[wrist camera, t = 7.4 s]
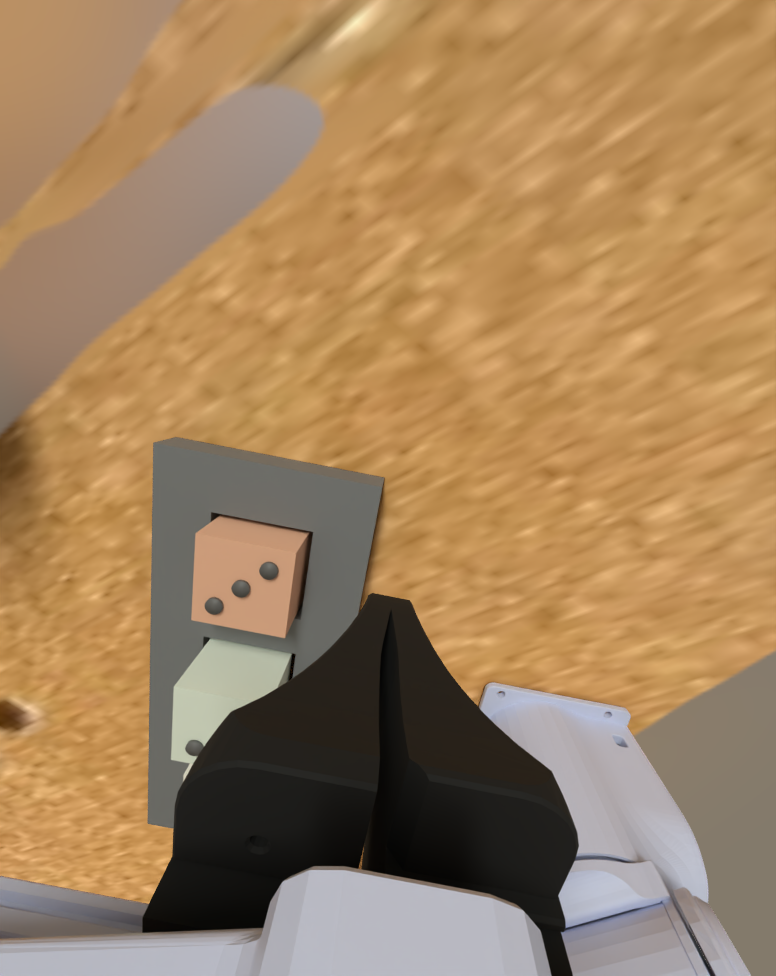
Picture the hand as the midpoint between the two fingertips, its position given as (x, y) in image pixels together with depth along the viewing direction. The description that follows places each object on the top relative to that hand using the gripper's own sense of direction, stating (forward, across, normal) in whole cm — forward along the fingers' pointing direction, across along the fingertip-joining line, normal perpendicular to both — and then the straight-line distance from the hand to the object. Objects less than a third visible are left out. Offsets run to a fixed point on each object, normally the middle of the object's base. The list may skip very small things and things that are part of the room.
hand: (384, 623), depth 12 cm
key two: (+9, +7, +12) cm, 17 cm away
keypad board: (+10, +7, +12) cm, 17 cm away
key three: (+10, +7, +4) cm, 13 cm away
